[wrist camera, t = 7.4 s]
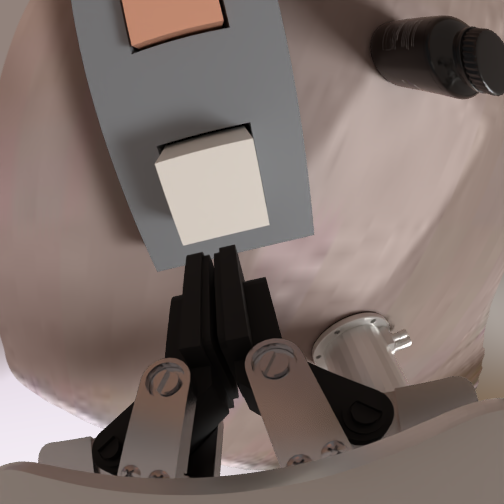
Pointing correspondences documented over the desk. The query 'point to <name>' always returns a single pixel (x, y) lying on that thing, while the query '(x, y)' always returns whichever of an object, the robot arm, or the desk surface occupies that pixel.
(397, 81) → the supplement bottle
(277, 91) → the key panel
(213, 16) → the terracotta key
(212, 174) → the off-white key
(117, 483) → the robot arm
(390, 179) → the desk surface
